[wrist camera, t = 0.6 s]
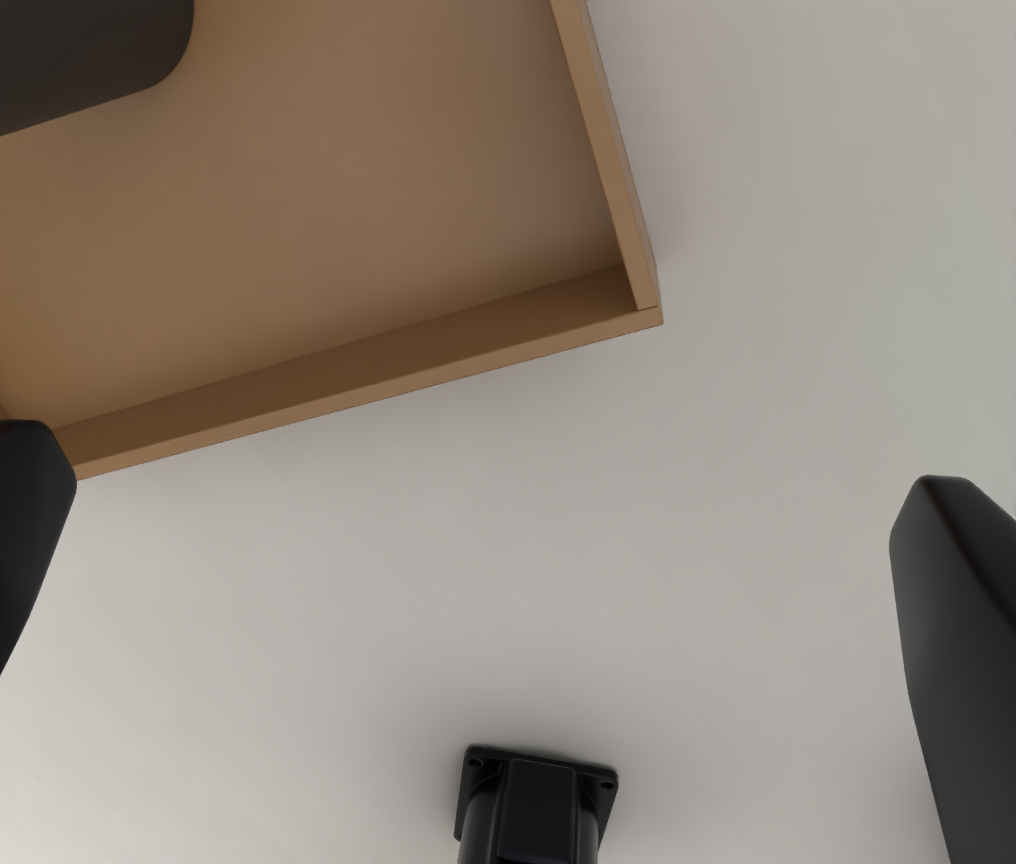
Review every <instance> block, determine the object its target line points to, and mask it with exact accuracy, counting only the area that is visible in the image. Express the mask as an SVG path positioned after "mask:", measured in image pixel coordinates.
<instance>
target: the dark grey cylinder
mask: <svg viewBox="0 0 1016 864" xmlns="http://www.w3.org/2000/svg"><path fill="white" fill-rule="evenodd" d="M193 13H194V4H193V0H0V137H1V136H4V135H7V134H10V133H13V132H16V131H19V130H23V129H26V128H29V127H32V126H35V125H38V124H41V123H44V122H47V121H50V120H53V119H56V118H60V117H63V116H66V115H69V114H72V113H75V112H78V111H81V110H84V109H87V108H90V107H93V106H97V105H100V104H103V103H106V102H109V101H112V100H115V99H118V98H121V97H124V96H127V95H130V94H133V93H137V92H140V91H143V90H145V89H148V88H150V87H152V86H154V85H156V84H157V83H159V82H160V81H162V80H164V79H165V78H166V77H167V76H168V75H169V74H170V73H171V72H172V71H173V70H174V68H175V67H176V66H177V64H178V63H179V62H180V60H181V58H182V56H183V54H184V52H185V50H186V47H187V45H188V42H189V39H190V34H191V30H192V25H193Z"/></svg>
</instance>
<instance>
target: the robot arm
mask: <svg viewBox="0 0 1016 864" xmlns="http://www.w3.org/2000/svg"><path fill="white" fill-rule="evenodd" d="M76 489H77V478H76V474H75V471H74V469H73V467H72V466H71V464H70V462H69V460H68V458H67V457H66V455H65V453H64V451H63V450H62V448H61V446H60V444H59V443H58V441H57V439H56V437H55V435H54V434H53V432H52V430H51V429H50V428H49V426H48V425H46V424H45V423H43V422H42V421H38V420H30V419H13V418H8V419H2V420H0V675H1V673H2V671H3V669H4V667H5V665H6V663H7V661H8V659H9V657H10V655H11V653H12V651H13V649H14V647H15V645H16V643H17V641H18V639H19V637H20V635H21V633H22V631H23V629H24V627H25V625H26V622H27V620H28V618H29V616H30V613H31V611H32V609H33V606H34V604H35V601H36V599H37V596H38V594H39V591H40V588H41V586H42V583H43V580H44V578H45V575H46V572H47V570H48V567H49V564H50V562H51V559H52V556H53V554H54V551H55V548H56V546H57V543H58V540H59V537H60V535H61V532H62V529H63V527H64V524H65V521H66V519H67V516H68V513H69V511H70V508H71V505H72V503H73V500H74V497H75V494H76ZM889 553H890V561H891V569H892V577H893V585H894V592H895V600H896V608H897V616H898V623H899V631H900V639H901V647H902V654H903V662H904V670H905V676H906V683H907V689H908V694H909V699H910V703H911V708H912V712H913V717H914V721H915V725H916V729H917V732H918V736H919V740H920V744H921V748H922V752H923V756H924V760H925V764H926V768H927V772H928V776H929V780H930V783H931V787H932V791H933V795H934V799H935V803H936V807H937V811H938V815H939V819H940V823H941V827H942V831H943V835H944V838H945V842H946V846H947V850H948V854H949V858H950V862H951V864H1016V520H1014V519H1013V518H1012V517H1011V516H1010V515H1009V514H1008V513H1006V512H1005V511H1004V510H1003V509H1002V508H1001V507H1000V506H999V505H997V504H996V503H995V502H994V501H993V500H992V499H991V498H989V497H988V496H987V495H986V494H985V493H984V492H983V491H981V490H980V489H979V488H978V487H977V486H976V485H975V484H973V483H972V482H971V481H969V480H967V479H965V478H962V477H952V476H936V475H925V476H921V477H919V478H918V479H917V480H916V481H915V482H914V484H913V486H912V487H911V490H910V492H909V494H908V496H907V498H906V500H905V502H904V504H903V506H902V508H901V511H900V513H899V515H898V517H897V519H896V521H895V523H894V525H893V528H892V530H891V534H890V541H889ZM617 790H618V775H617V773H615V772H614V771H612V770H608V769H602V768H596V767H591V766H585V765H579V764H573V763H567V762H561V761H555V760H550V759H544V758H538V757H532V756H526V755H520V754H514V753H509V752H503V751H497V750H491V749H485V748H479V747H471V748H469V749H467V750H466V752H465V756H464V762H463V770H462V777H461V785H460V792H459V800H458V807H457V815H456V822H455V830H454V838H455V839H456V840H458V841H459V842H461V843H460V849H459V855H458V861H457V864H598V850H599V847H600V844H601V841H602V838H603V835H604V831H605V828H606V825H607V822H608V819H609V816H610V812H611V809H612V806H613V803H614V800H615V797H616V793H617Z"/></svg>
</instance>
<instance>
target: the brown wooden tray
mask: <svg viewBox="0 0 1016 864" xmlns="http://www.w3.org/2000/svg"><path fill="white" fill-rule="evenodd" d="M193 4H194V13H193V25H192V30H191V34H190V39H189V42H188V45H187V47H186V50H185V52H184V54H183V56H182V58H181V60H180V62H179V63H178V64H177V66H176V67H175V68H174V70H173V71H172V72H171V73H170V74H169V75H168V76H167V77H166V78H165V79H164V80H162V81H160V82H159V83H157V84H156V85H154V86H152V87H150V88H148V89H145V90H143V91H140V92H137V93H133V94H130V95H127V96H124V97H121V98H118V99H115V100H112V101H109V102H106V103H103V104H100V105H97V106H93V107H90V108H87V109H84V110H81V111H78V112H75V113H72V114H69V115H66V116H63V117H60V118H56V119H53V120H50V121H47V122H44V123H41V124H38V125H35V126H32V127H29V128H26V129H23V130H19V131H16V132H13V133H10V134H7V135H4V136H1V137H0V420H2V419H8V418H13V419H30V420H38V421H42V422H43V423H45V424H46V425H48V426H49V428H50V429H51V430H52V432H53V434H54V435H55V437H56V439H57V441H58V443H59V444H60V446H61V448H62V450H63V451H64V453H65V455H66V457H67V458H68V460H69V462H70V464H71V466H72V467H73V469H74V471H75V474H76V478H77V481H78V480H82V479H86V478H89V477H93V476H97V475H101V474H104V473H108V472H112V471H116V470H119V469H123V468H127V467H131V466H134V465H138V464H142V463H146V462H149V461H153V460H157V459H161V458H164V457H168V456H172V455H176V454H179V453H183V452H187V451H191V450H194V449H198V448H202V447H206V446H209V445H213V444H217V443H221V442H224V441H228V440H232V439H236V438H239V437H243V436H247V435H251V434H254V433H258V432H262V431H266V430H269V429H273V428H277V427H281V426H284V425H288V424H292V423H296V422H299V421H303V420H307V419H311V418H314V417H318V416H322V415H326V414H329V413H333V412H337V411H341V410H344V409H348V408H352V407H356V406H359V405H363V404H367V403H371V402H374V401H378V400H382V399H386V398H389V397H393V396H397V395H401V394H404V393H408V392H412V391H416V390H419V389H423V388H427V387H431V386H434V385H438V384H442V383H446V382H449V381H453V380H457V379H461V378H464V377H468V376H472V375H475V374H479V373H483V372H487V371H490V370H494V369H498V368H502V367H505V366H509V365H513V364H517V363H520V362H524V361H528V360H532V359H535V358H539V357H543V356H547V355H550V354H554V353H558V352H562V351H565V350H569V349H573V348H577V347H580V346H584V345H588V344H592V343H595V342H599V341H603V340H607V339H610V338H614V337H618V336H622V335H625V334H629V333H633V332H637V331H640V330H644V329H648V328H652V327H655V326H659V325H662V324H663V322H664V321H663V313H662V306H661V298H660V291H659V283H658V275H657V267H656V263H655V259H654V255H653V252H652V248H651V244H650V240H649V237H648V233H647V229H646V225H645V222H644V218H643V214H642V210H641V207H640V203H639V199H638V195H637V192H636V188H635V184H634V180H633V177H632V173H631V169H630V165H629V162H628V158H627V154H626V150H625V147H624V143H623V139H622V135H621V132H620V128H619V124H618V120H617V117H616V113H615V109H614V105H613V102H612V98H611V94H610V90H609V87H608V83H607V79H606V75H605V72H604V68H603V64H602V60H601V57H600V53H599V49H598V45H597V42H596V38H595V34H594V30H593V27H592V23H591V19H590V15H589V12H588V8H587V4H586V0H193Z"/></svg>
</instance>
